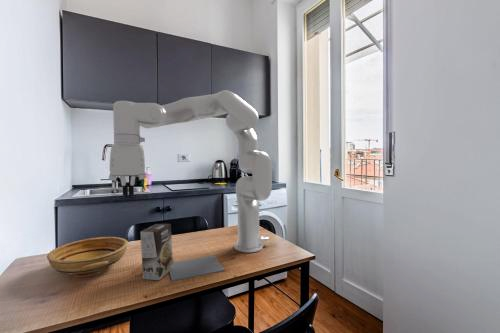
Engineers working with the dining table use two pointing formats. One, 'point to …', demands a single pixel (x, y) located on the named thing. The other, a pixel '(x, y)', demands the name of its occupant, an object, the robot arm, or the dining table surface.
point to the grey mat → (195, 267)
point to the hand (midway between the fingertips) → (128, 197)
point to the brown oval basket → (87, 255)
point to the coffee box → (156, 251)
